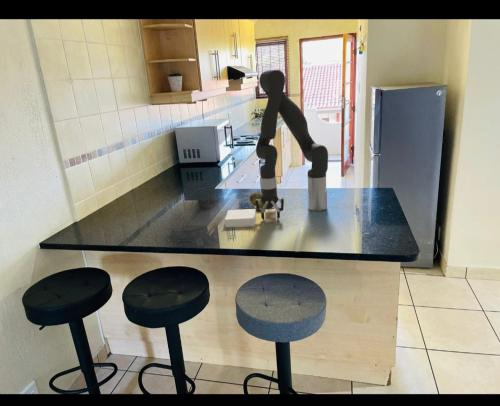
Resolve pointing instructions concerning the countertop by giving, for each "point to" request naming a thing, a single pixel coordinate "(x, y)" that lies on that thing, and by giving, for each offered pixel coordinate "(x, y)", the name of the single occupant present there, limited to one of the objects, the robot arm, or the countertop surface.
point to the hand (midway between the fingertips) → (270, 218)
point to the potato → (257, 196)
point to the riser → (240, 218)
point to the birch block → (270, 215)
